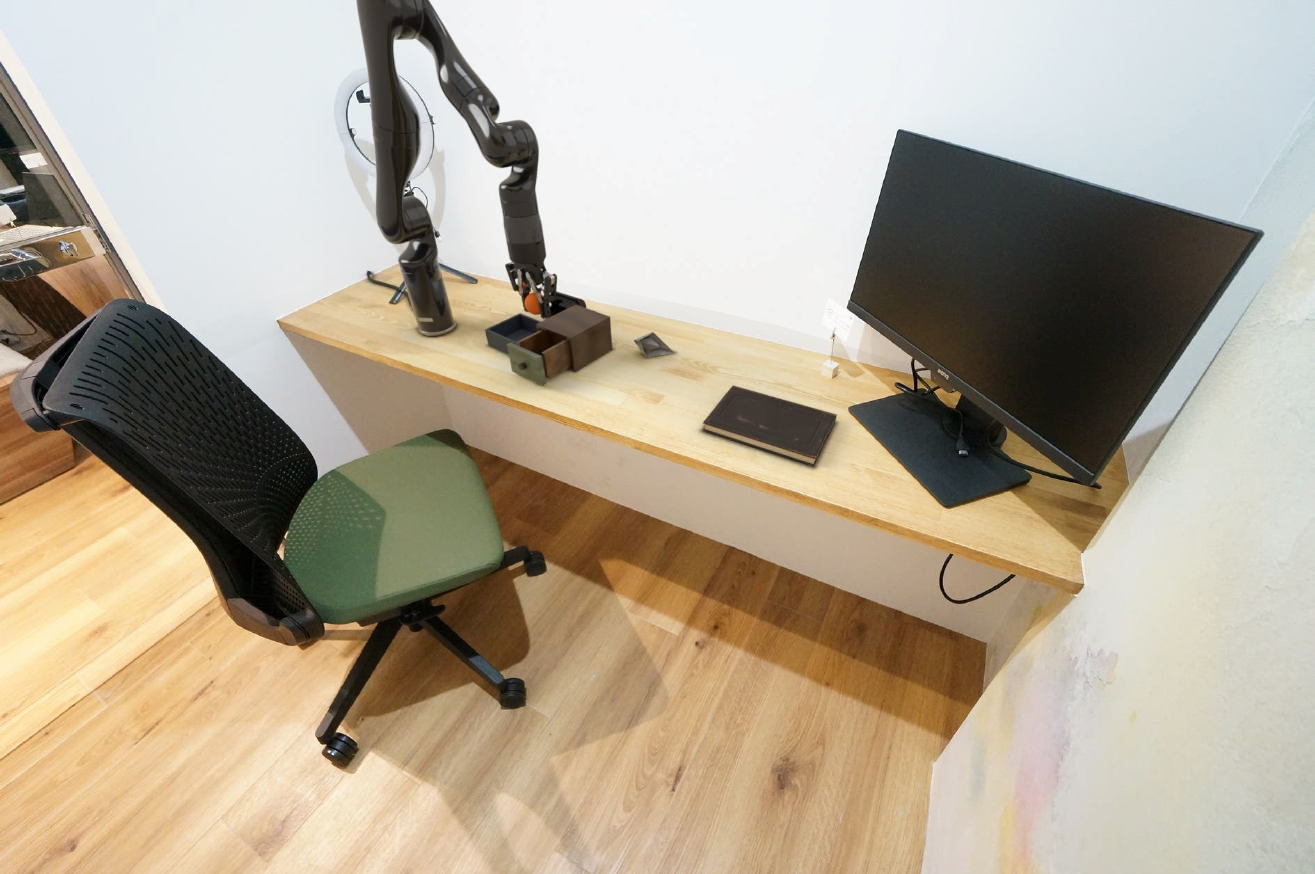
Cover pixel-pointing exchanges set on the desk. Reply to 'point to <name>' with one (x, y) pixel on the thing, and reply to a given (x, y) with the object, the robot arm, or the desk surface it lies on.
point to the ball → (532, 304)
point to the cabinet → (581, 333)
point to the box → (510, 331)
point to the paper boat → (652, 345)
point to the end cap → (564, 303)
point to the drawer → (540, 356)
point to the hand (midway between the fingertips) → (537, 313)
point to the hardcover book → (771, 424)
